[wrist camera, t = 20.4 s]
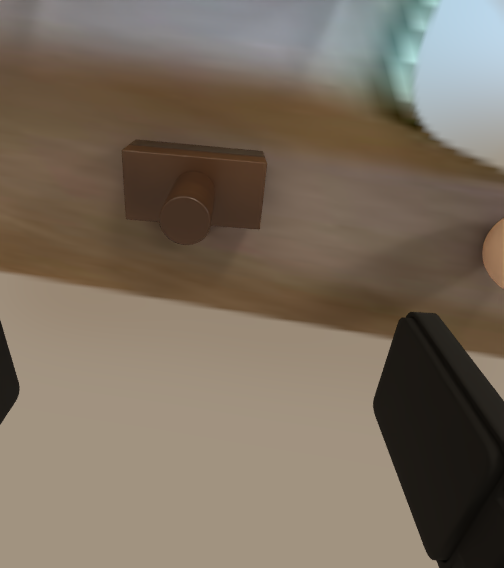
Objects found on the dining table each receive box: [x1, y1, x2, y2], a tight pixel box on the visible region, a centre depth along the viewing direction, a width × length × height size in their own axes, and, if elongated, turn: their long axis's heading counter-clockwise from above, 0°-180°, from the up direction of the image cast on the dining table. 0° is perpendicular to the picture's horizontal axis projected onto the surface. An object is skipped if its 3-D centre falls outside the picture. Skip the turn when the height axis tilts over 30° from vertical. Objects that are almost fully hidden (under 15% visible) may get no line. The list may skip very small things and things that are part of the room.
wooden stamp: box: [122, 140, 267, 245], centre depth 22 cm, size 4×8×8 cm, turn 85°
